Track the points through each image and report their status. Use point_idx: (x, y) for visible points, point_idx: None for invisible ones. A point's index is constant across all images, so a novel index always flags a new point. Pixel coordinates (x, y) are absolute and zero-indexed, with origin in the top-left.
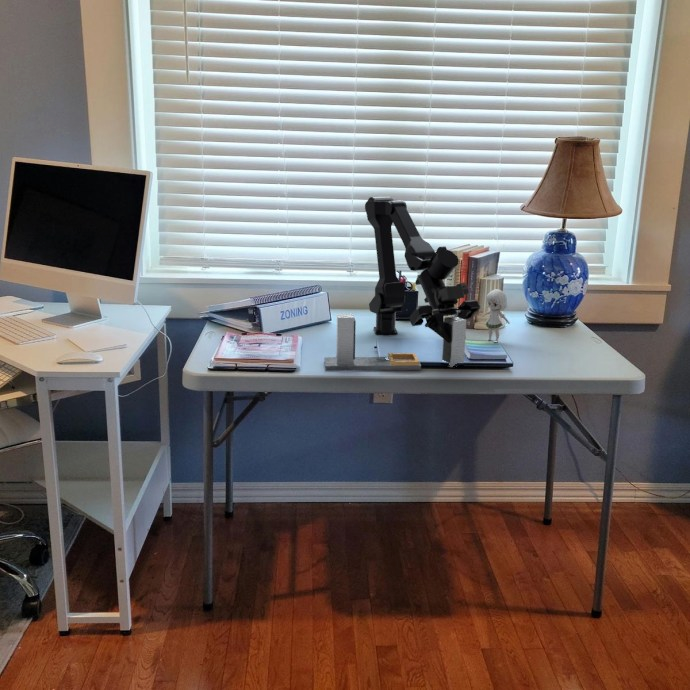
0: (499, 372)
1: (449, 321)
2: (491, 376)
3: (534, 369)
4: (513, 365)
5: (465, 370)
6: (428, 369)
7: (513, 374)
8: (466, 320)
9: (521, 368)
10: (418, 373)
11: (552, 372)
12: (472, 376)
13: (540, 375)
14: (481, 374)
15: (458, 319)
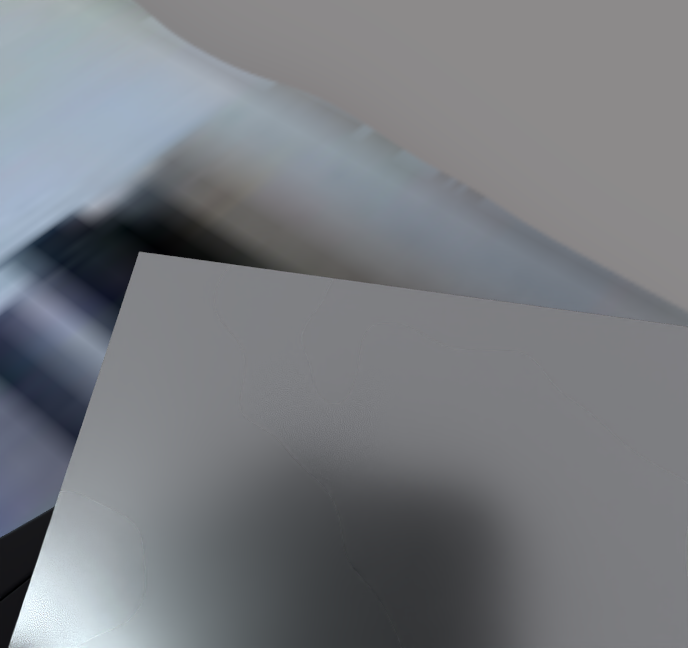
0: (236, 178)
1: (665, 594)
2: (339, 153)
3: (28, 114)
4: (47, 224)
5: None
6: None
7: (201, 115)
8: (141, 260)
9: (65, 162)
10: None
11: (7, 40)
12: (444, 211)
13: (100, 39)
14: (363, 209)
15: (293, 465)
